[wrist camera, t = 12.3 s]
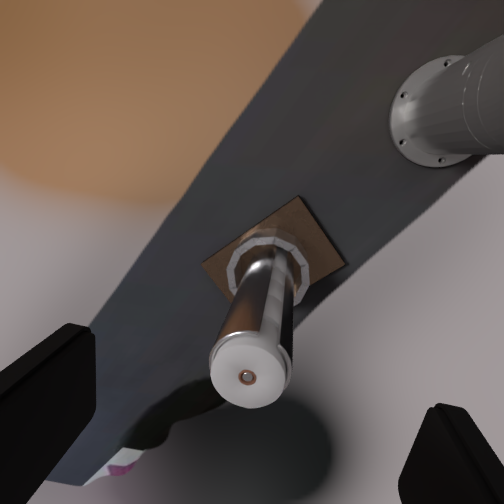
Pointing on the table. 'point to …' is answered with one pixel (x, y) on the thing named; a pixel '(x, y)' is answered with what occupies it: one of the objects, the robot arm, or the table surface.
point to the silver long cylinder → (257, 332)
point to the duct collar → (285, 236)
